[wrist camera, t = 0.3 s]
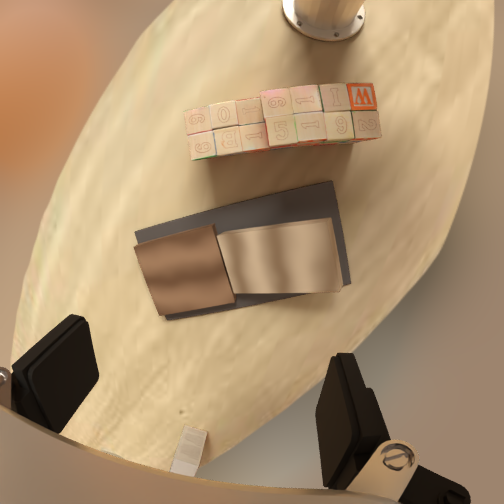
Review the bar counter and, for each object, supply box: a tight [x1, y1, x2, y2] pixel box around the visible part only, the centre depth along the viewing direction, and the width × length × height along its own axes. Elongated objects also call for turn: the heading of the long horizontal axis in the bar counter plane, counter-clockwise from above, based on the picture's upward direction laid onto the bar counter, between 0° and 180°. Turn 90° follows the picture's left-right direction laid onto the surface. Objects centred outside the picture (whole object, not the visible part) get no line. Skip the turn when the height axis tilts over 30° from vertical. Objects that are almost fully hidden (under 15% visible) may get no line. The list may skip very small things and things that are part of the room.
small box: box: [169, 425, 208, 477], centre depth 55 cm, size 8×6×10 cm
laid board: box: [134, 223, 237, 316], centre depth 46 cm, size 12×13×2 cm
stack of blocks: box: [184, 83, 381, 160], centre depth 34 cm, size 21×6×12 cm, turn 98°
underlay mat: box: [135, 181, 351, 320], centre depth 46 cm, size 16×31×1 cm, turn 105°
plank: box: [217, 217, 343, 293], centre depth 40 cm, size 16×9×2 cm, turn 105°
